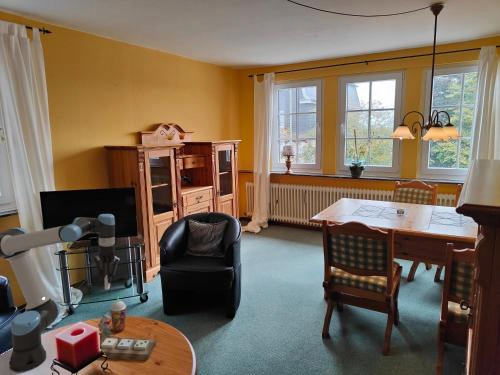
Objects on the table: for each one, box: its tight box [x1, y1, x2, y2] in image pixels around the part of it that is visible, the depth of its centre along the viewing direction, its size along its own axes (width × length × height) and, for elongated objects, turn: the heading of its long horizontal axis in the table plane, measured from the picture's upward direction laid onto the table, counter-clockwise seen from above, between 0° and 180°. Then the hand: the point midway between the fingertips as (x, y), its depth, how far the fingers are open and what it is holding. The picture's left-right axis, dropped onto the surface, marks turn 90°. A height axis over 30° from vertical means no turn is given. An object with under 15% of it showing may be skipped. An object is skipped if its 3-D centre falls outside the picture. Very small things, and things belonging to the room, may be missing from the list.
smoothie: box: [110, 296, 127, 333], centre depth 194 cm, size 8×8×20 cm
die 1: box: [101, 338, 118, 349], centre depth 176 cm, size 6×6×4 cm
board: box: [99, 336, 157, 361], centre depth 176 cm, size 28×13×3 cm, turn 87°
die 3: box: [134, 340, 149, 351], centre depth 175 cm, size 6×6×4 cm
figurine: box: [97, 310, 115, 341], centre depth 186 cm, size 8×8×15 cm
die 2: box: [117, 339, 134, 350], centre depth 176 cm, size 6×6×4 cm
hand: (107, 288), depth 175 cm, fingers closed
